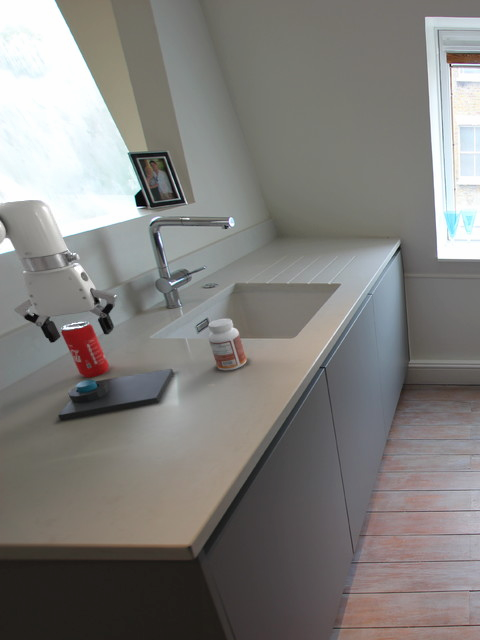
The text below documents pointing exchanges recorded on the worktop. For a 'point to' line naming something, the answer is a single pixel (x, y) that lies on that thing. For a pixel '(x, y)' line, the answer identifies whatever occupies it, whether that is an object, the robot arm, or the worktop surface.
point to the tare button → (86, 386)
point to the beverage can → (85, 349)
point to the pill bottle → (226, 345)
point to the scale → (118, 394)
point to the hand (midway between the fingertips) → (82, 336)
